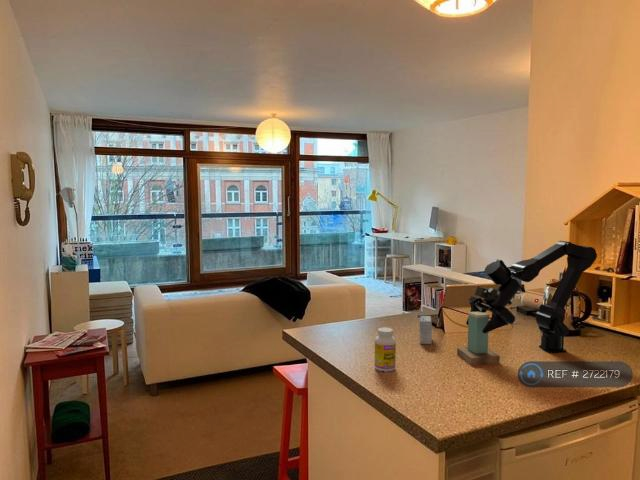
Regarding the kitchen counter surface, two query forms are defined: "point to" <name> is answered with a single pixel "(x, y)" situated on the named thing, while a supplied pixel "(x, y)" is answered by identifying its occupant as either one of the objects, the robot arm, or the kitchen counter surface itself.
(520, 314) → the kitchen counter surface
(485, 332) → the robot arm
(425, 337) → the medicine box
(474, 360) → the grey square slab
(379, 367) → the supplement bottle
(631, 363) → the kitchen counter surface
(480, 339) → the tea tin
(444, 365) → the kitchen counter surface
